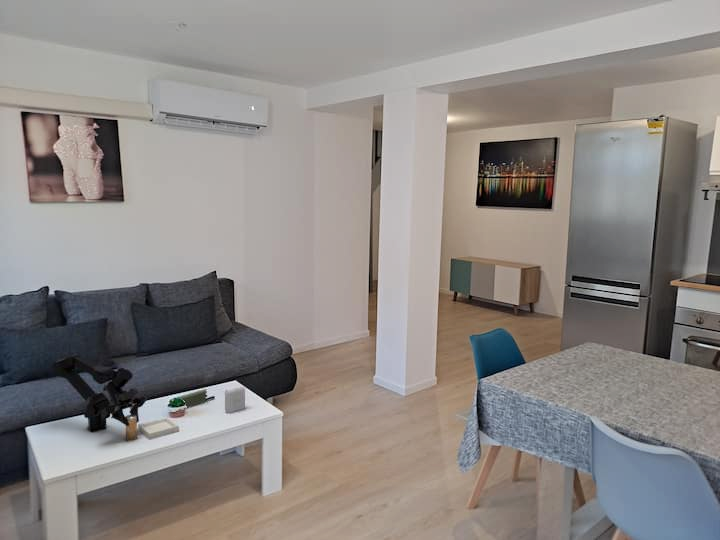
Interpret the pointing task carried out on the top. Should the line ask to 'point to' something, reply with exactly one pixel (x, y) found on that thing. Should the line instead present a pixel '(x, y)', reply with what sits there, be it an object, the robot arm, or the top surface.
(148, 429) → the tray
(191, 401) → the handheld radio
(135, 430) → the battery cell
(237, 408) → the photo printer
